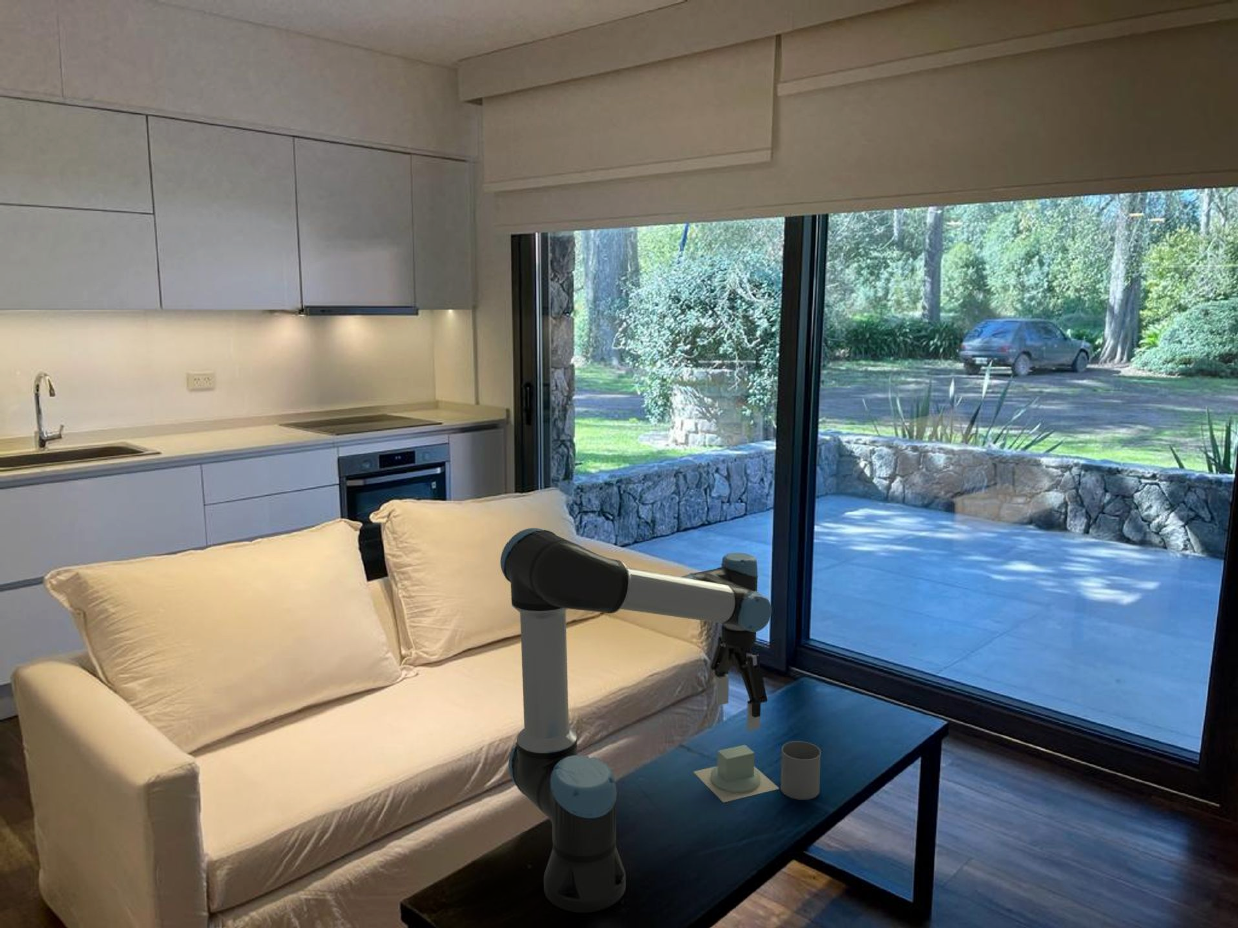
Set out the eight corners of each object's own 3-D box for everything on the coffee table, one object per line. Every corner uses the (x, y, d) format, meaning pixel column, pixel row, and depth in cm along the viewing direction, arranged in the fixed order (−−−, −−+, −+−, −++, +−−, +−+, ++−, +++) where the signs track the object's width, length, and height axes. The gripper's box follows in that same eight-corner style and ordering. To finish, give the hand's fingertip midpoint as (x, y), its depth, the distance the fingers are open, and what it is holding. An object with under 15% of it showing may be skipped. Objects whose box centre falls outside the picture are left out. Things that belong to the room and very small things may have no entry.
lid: (726, 797, 201) (726, 768, 200) (702, 773, 211) (702, 745, 210) (769, 786, 205) (770, 758, 204) (744, 763, 215) (744, 736, 214)
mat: (723, 805, 199) (723, 801, 199) (693, 774, 212) (693, 771, 212) (779, 791, 204) (779, 788, 204) (746, 762, 217) (746, 759, 217)
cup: (819, 804, 199) (820, 761, 197) (780, 800, 201) (781, 757, 199) (818, 784, 207) (820, 742, 206) (781, 780, 209) (782, 739, 207)
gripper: (785, 641, 191) (782, 737, 195) (725, 604, 214) (724, 690, 218) (753, 647, 188) (751, 744, 192) (696, 608, 211) (696, 696, 215)
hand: (737, 715), depth 205 cm, fingers open, 13 cm apart
